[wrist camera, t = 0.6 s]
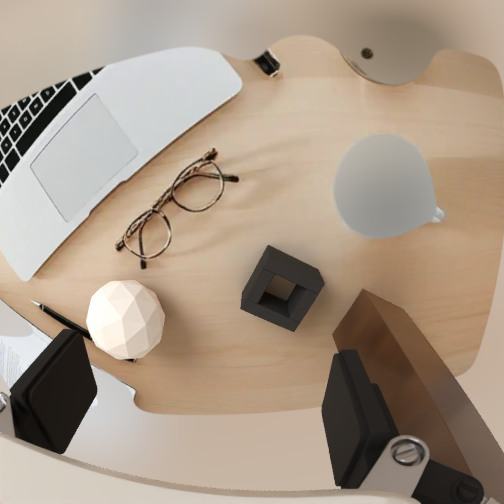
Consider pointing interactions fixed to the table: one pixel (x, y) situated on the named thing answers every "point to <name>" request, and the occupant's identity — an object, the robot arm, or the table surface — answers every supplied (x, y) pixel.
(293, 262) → the dark grey square frame
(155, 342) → the geometric ball
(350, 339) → the stand
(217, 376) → the table surface
